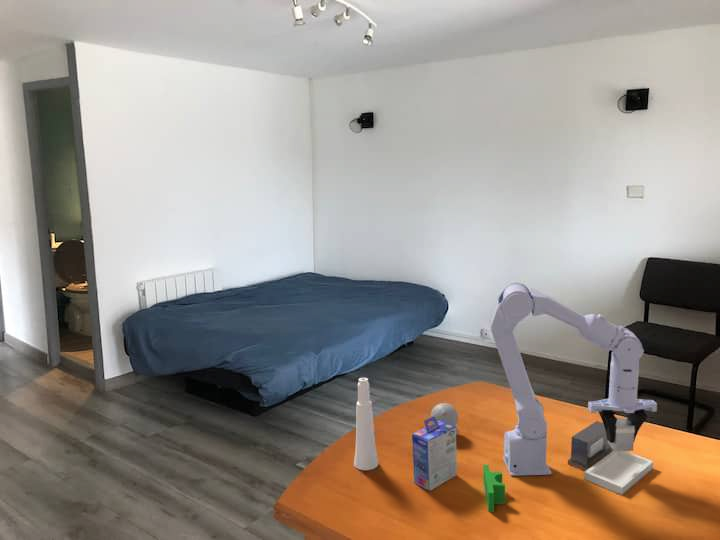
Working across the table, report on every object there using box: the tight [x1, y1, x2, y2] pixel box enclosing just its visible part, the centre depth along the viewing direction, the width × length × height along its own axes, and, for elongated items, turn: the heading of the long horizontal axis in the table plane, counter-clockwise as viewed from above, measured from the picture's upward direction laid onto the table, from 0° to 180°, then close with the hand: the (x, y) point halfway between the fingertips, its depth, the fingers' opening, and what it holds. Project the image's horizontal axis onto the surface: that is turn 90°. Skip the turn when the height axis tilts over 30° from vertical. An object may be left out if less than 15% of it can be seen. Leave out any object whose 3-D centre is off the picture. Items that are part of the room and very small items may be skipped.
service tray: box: [583, 451, 654, 496], centre depth 129 cm, size 16×9×2 cm, turn 130°
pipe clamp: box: [482, 464, 506, 513], centre depth 122 cm, size 11×4×5 cm, turn 173°
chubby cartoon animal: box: [430, 402, 459, 436], centre depth 152 cm, size 7×12×8 cm, turn 0°
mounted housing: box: [567, 420, 614, 472], centre depth 136 cm, size 13×5×7 cm, turn 130°
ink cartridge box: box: [411, 416, 458, 492], centre depth 129 cm, size 10×6×14 cm, turn 131°
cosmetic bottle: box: [353, 377, 379, 471], centre depth 135 cm, size 6×6×22 cm
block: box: [608, 417, 635, 452], centre depth 127 cm, size 4×4×6 cm
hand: (620, 440), depth 128 cm, fingers closed on block, 4 cm apart
